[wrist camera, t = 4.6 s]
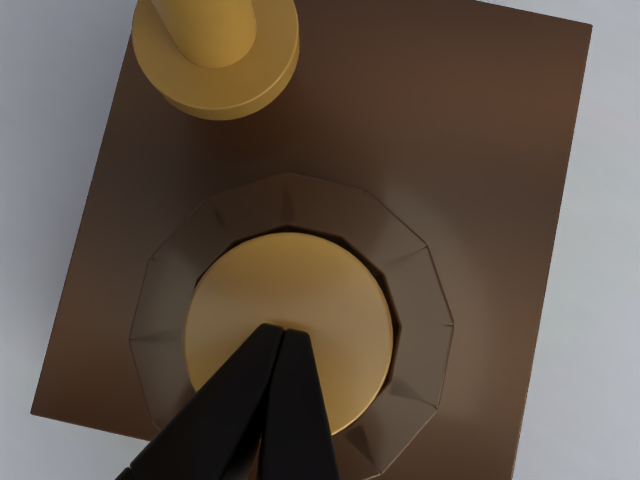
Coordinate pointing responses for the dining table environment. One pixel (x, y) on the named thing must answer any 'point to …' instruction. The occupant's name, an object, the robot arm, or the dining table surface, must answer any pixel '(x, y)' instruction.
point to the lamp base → (343, 223)
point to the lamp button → (295, 315)
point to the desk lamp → (217, 53)
